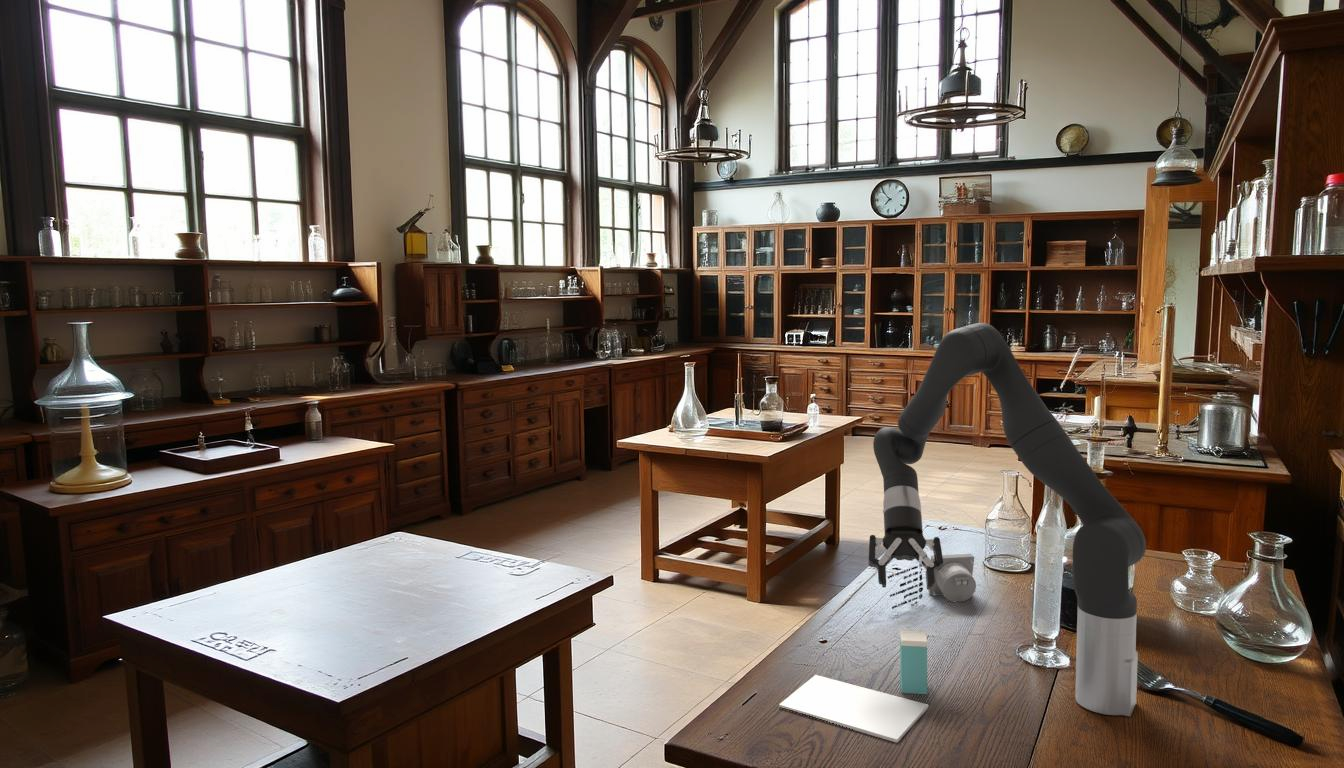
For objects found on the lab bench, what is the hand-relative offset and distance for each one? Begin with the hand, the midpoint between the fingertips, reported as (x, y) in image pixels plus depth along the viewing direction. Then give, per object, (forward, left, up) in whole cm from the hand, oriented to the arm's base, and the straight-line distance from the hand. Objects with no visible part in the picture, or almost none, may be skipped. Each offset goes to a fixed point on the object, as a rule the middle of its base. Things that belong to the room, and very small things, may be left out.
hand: (906, 586), depth 172 cm
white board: (+1, +23, -15) cm, 27 cm away
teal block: (-5, +10, -15) cm, 19 cm away
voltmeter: (+7, -32, -16) cm, 37 cm away
